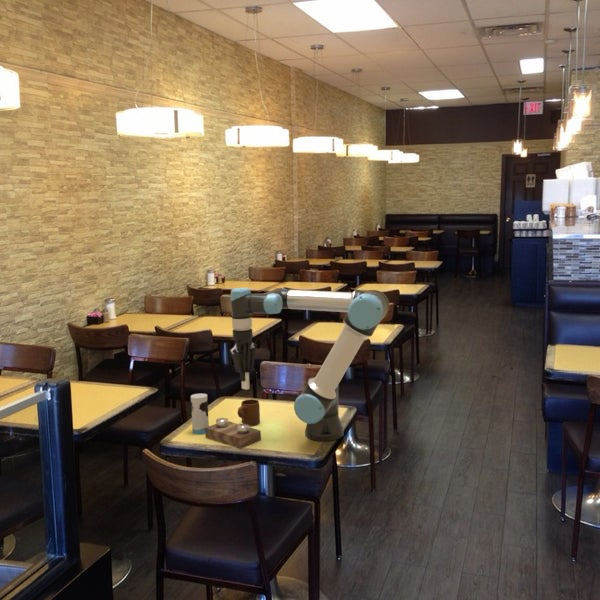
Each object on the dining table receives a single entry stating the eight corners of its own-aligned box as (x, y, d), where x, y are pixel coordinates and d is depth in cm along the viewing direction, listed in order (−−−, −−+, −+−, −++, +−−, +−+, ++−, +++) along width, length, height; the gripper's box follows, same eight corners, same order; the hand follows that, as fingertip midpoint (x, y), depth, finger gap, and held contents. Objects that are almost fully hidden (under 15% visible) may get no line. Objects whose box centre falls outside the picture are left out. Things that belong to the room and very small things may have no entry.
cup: (212, 430, 273) (210, 394, 271) (201, 435, 268) (199, 399, 266) (200, 427, 277) (198, 392, 275) (189, 432, 272) (187, 396, 269)
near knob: (252, 440, 259) (251, 425, 258) (243, 443, 256) (242, 428, 255) (243, 437, 262) (243, 422, 261) (235, 441, 259) (234, 426, 258)
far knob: (230, 433, 267) (230, 419, 266) (222, 437, 263) (221, 422, 263) (223, 431, 270) (222, 417, 269) (214, 434, 266) (213, 420, 266)
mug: (246, 430, 272) (245, 408, 270) (231, 427, 276) (230, 405, 274) (263, 422, 281) (262, 400, 280) (249, 419, 286) (248, 398, 284)
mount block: (261, 440, 260) (260, 430, 260) (240, 448, 252) (240, 438, 252) (226, 429, 273) (225, 420, 273) (205, 437, 265) (205, 427, 265)
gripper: (247, 324, 261) (250, 383, 265) (223, 330, 251) (226, 391, 255) (261, 326, 257) (264, 386, 260) (237, 332, 247) (240, 394, 250)
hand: (245, 388), depth 257 cm, fingers closed
